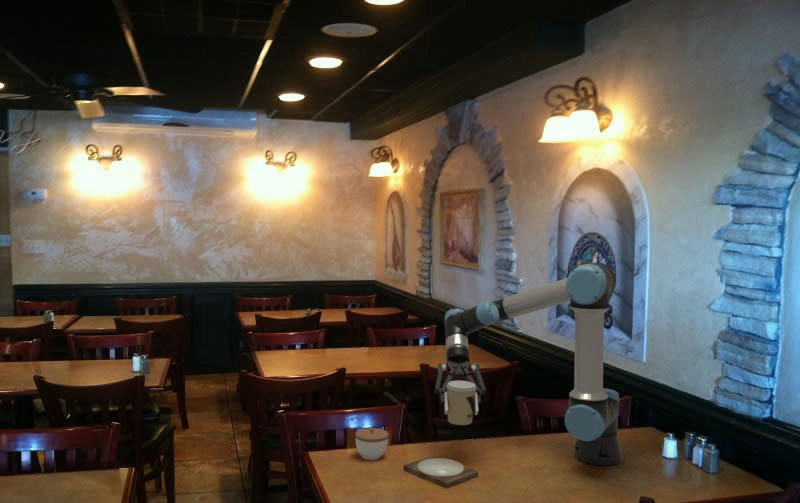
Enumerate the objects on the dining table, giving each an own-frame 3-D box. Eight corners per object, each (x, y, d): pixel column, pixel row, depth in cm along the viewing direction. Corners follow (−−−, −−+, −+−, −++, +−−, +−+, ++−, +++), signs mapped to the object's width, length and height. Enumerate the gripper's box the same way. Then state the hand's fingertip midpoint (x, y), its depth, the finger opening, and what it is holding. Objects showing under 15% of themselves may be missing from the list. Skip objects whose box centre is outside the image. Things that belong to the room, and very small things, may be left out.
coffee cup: (472, 427, 217) (474, 389, 216) (443, 424, 219) (444, 386, 218) (476, 418, 226) (477, 381, 225) (447, 415, 228) (449, 379, 227)
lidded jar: (394, 457, 226) (395, 428, 225) (371, 465, 218) (371, 436, 217) (371, 448, 233) (372, 421, 232) (347, 456, 225) (348, 427, 225)
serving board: (478, 476, 211) (478, 469, 211) (446, 488, 202) (446, 481, 202) (434, 459, 224) (435, 453, 224) (403, 470, 215) (403, 463, 215)
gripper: (488, 357, 237) (493, 418, 222) (424, 356, 236) (426, 417, 221) (491, 345, 231) (497, 407, 216) (426, 344, 230) (428, 406, 216)
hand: (461, 412), depth 219 cm, fingers closed on coffee cup, 9 cm apart
